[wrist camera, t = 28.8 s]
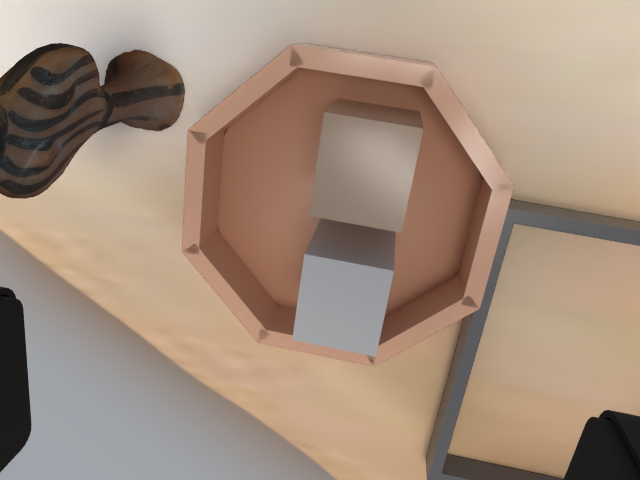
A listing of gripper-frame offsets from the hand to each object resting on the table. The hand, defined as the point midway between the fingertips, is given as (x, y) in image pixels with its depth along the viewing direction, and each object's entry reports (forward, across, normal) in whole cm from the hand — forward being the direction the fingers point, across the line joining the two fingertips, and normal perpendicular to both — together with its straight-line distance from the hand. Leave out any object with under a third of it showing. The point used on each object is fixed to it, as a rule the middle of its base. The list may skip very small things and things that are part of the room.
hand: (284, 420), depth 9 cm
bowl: (+24, +1, +4) cm, 25 cm away
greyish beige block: (+24, 0, 0) cm, 24 cm away
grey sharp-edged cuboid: (+24, 0, +7) cm, 25 cm away
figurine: (+24, +14, 0) cm, 28 cm away
